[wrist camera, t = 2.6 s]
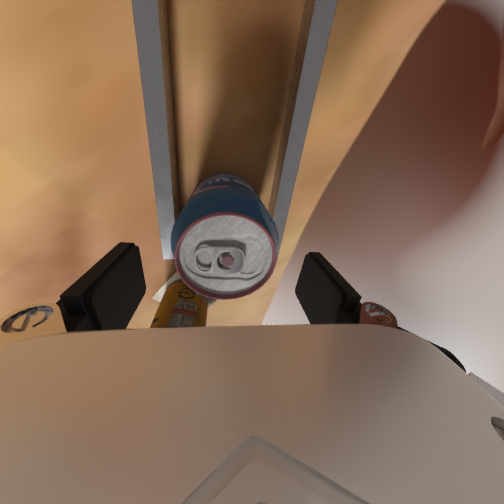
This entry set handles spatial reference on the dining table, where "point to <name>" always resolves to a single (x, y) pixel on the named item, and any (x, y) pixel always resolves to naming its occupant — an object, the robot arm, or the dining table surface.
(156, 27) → the guide channel
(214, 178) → the soda can
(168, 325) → the condiment
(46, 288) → the dining table surface
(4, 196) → the dining table surface
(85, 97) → the dining table surface
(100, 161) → the dining table surface
